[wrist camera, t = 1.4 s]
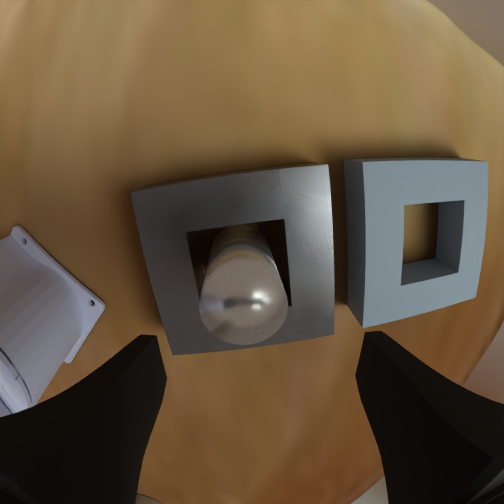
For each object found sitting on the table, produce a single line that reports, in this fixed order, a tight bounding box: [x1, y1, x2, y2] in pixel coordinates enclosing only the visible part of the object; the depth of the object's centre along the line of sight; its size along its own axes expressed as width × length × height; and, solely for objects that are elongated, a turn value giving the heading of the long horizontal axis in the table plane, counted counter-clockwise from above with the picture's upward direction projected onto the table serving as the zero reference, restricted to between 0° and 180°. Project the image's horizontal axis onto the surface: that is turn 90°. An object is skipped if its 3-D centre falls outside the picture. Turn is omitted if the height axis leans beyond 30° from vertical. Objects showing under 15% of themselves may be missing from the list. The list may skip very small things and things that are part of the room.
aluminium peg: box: [199, 224, 288, 345], centre depth 15 cm, size 4×4×7 cm
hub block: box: [343, 157, 488, 328], centre depth 17 cm, size 10×10×3 cm
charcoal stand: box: [130, 162, 334, 355], centre depth 17 cm, size 10×10×3 cm
